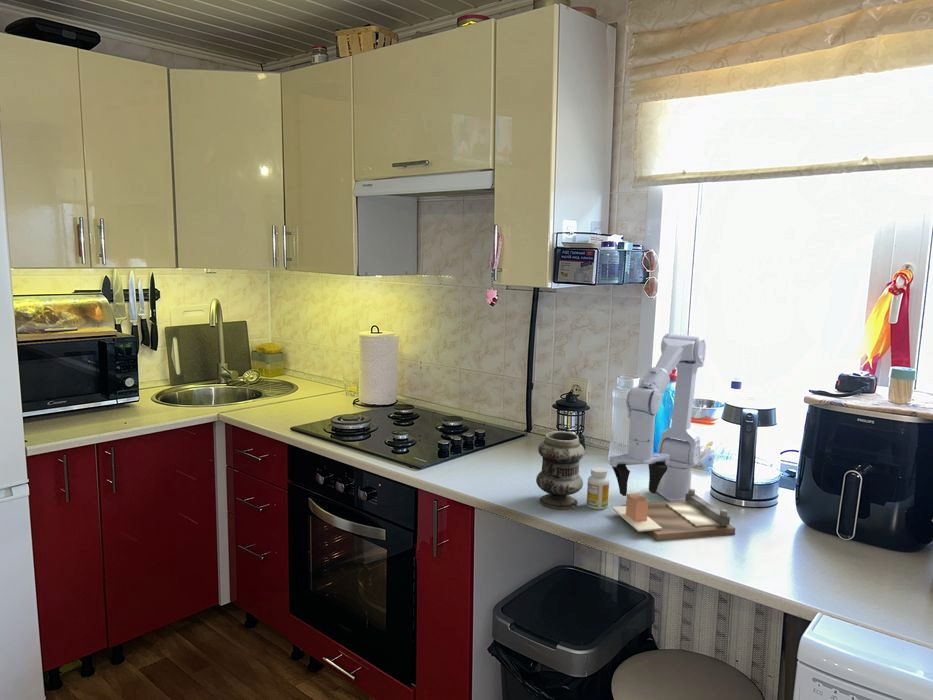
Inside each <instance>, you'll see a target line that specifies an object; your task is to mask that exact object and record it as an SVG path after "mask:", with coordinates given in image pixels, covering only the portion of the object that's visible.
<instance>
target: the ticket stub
mask: <svg viewBox="0 0 933 700" xmlns="http://www.w3.org/2000/svg"><path fill="white" fill-rule="evenodd" d="M625 502H626V504H625V505H626V506H622V505H620V506H618V505H617V506H612V507H611V509H612V510H613V512H616V514H618V515H619V517H621V518H622V519H624V520H625V521H626V522H627V523H628V524H629V525H630V526H631V527H632V528H633V529H635V530H636V531H637V532H646V531H651V530H662V527H660V526H659V525H658V524H657V523H655V522H654V521H653V520H652V519H650V518H649V517H648V516H647V512H648V503H649V500H648V499H647V498H646V497H644V496H643V495H642V494H640V493H639V492H633V493H627V494H626V501H625Z"/></svg>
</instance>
